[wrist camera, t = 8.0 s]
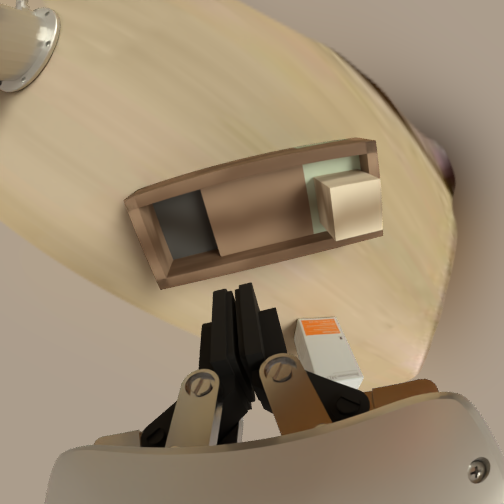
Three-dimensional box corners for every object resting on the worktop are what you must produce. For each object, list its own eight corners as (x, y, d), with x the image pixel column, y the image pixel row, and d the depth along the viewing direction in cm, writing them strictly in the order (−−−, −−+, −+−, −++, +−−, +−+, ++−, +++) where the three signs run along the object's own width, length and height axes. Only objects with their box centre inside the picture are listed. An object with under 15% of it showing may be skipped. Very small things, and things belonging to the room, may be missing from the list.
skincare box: (336, 315, 38) (366, 377, 27) (329, 336, 39) (354, 397, 29) (296, 317, 37) (317, 384, 26) (292, 339, 39) (309, 404, 28)
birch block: (313, 177, 26) (329, 188, 22) (357, 169, 26) (380, 178, 21) (319, 222, 28) (335, 241, 24) (361, 213, 28) (382, 229, 24)
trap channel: (138, 189, 28) (123, 200, 24) (356, 137, 27) (375, 140, 23) (168, 269, 32) (160, 289, 28) (365, 221, 31) (382, 235, 27)
